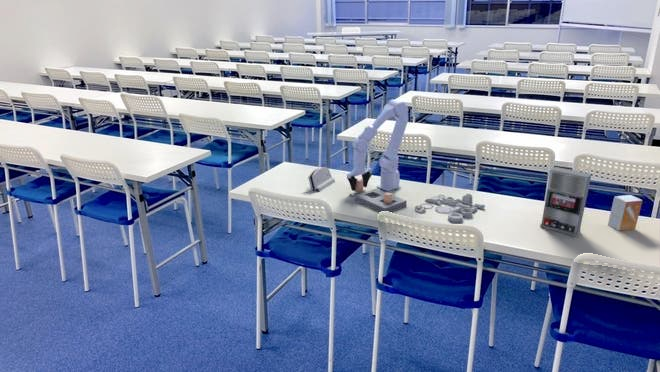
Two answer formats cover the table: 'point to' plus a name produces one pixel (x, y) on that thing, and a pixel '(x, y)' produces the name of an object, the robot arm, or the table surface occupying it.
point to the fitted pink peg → (388, 198)
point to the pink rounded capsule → (359, 186)
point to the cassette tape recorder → (565, 200)
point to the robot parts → (455, 215)
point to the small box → (625, 212)
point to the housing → (379, 200)
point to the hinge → (320, 179)
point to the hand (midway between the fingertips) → (359, 188)
